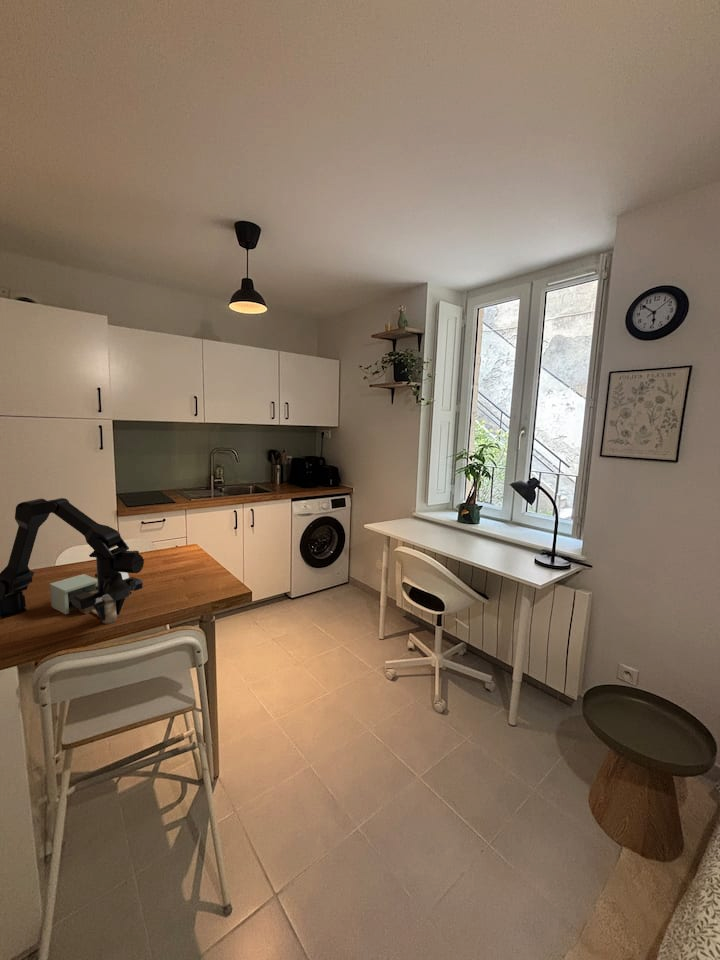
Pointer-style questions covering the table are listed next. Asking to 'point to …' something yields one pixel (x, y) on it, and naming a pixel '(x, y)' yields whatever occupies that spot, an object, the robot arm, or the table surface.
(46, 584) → the table surface
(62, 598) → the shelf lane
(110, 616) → the beige dumbbell
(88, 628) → the table surface
